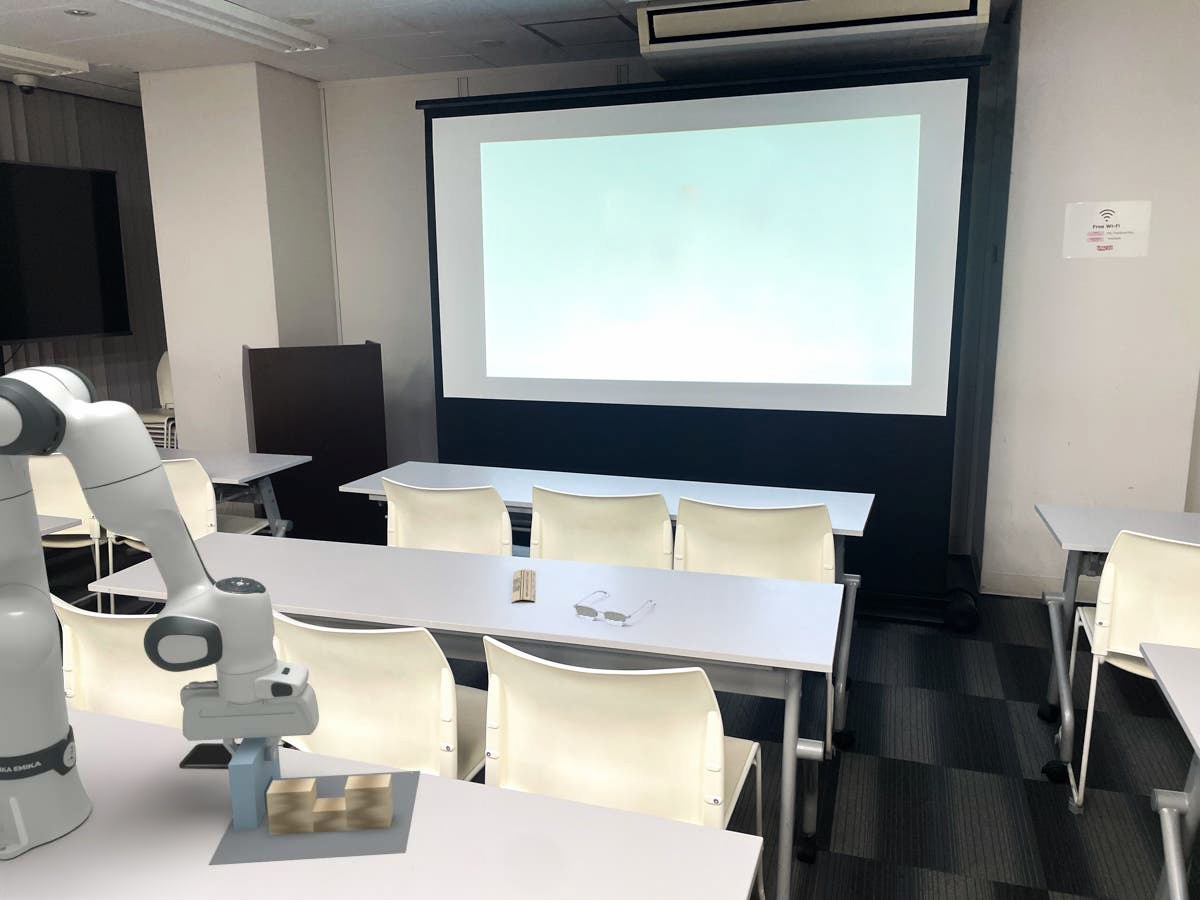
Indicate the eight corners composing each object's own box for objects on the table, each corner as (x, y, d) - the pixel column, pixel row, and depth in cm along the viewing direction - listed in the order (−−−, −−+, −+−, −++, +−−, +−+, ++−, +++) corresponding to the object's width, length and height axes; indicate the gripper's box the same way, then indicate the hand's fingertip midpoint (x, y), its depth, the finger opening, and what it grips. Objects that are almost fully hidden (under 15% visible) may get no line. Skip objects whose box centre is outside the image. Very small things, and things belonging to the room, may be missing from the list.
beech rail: (269, 835, 135) (266, 793, 133) (275, 821, 138) (272, 780, 137) (390, 827, 137) (388, 786, 135) (393, 814, 140) (391, 774, 139)
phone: (262, 767, 153) (176, 766, 153) (263, 773, 153) (177, 772, 153) (280, 743, 160) (197, 742, 161) (280, 749, 161) (198, 748, 161)
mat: (208, 867, 128) (208, 865, 128) (251, 782, 150) (251, 779, 149) (405, 855, 131) (405, 852, 131) (420, 772, 152) (420, 770, 152)
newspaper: (534, 605, 231) (534, 598, 230) (507, 606, 230) (507, 599, 230) (535, 575, 254) (534, 569, 253) (510, 575, 253) (510, 569, 253)
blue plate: (234, 830, 136) (228, 765, 134) (259, 779, 150) (254, 719, 147) (257, 829, 136) (252, 763, 134) (280, 778, 150) (276, 718, 148)
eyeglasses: (572, 619, 221) (572, 603, 220) (606, 596, 237) (606, 581, 236) (628, 630, 214) (628, 614, 213) (658, 606, 230) (659, 591, 229)
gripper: (171, 691, 135) (179, 774, 137) (309, 685, 137) (315, 767, 139) (186, 673, 141) (194, 753, 144) (318, 667, 143) (323, 746, 146)
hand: (254, 760), depth 141 cm, fingers closed on blue plate, 3 cm apart
